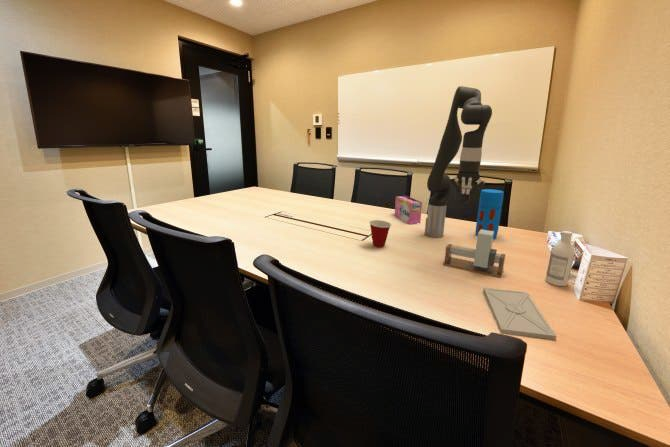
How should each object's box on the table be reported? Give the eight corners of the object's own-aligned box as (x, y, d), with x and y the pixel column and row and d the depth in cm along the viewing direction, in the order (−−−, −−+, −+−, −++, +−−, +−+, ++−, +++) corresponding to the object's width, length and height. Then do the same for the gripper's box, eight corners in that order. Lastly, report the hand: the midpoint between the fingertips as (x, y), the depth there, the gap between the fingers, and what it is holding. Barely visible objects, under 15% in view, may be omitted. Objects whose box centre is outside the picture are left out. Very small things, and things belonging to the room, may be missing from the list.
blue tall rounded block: (499, 240, 163) (506, 193, 156) (477, 239, 165) (484, 192, 158) (493, 234, 173) (500, 189, 166) (473, 232, 175) (478, 188, 168)
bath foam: (556, 277, 121) (567, 228, 116) (572, 285, 115) (584, 234, 109) (540, 279, 120) (551, 229, 114) (556, 287, 114) (567, 235, 108)
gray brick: (487, 265, 124) (489, 252, 123) (489, 260, 129) (491, 248, 127) (492, 266, 123) (494, 253, 122) (494, 261, 128) (496, 249, 126)
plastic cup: (389, 250, 149) (391, 226, 146) (367, 248, 151) (368, 224, 148) (390, 242, 159) (392, 220, 156) (369, 241, 161) (370, 218, 158)
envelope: (500, 334, 88) (555, 342, 85) (501, 328, 88) (556, 335, 84) (482, 292, 110) (525, 296, 107) (483, 286, 110) (526, 291, 107)
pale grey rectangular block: (473, 265, 127) (477, 233, 123) (476, 260, 132) (480, 229, 128) (486, 268, 124) (491, 235, 120) (489, 263, 129) (494, 231, 125)
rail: (443, 265, 133) (444, 248, 130) (448, 258, 140) (450, 242, 138) (500, 277, 121) (503, 260, 119) (503, 269, 128) (506, 252, 126)
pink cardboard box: (393, 214, 213) (394, 195, 209) (403, 214, 215) (405, 194, 211) (409, 224, 191) (410, 202, 187) (420, 223, 193) (422, 202, 189)
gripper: (490, 159, 121) (484, 203, 126) (455, 157, 128) (450, 199, 133) (487, 161, 115) (480, 206, 120) (450, 159, 122) (445, 202, 127)
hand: (464, 202), depth 126 cm, fingers closed
